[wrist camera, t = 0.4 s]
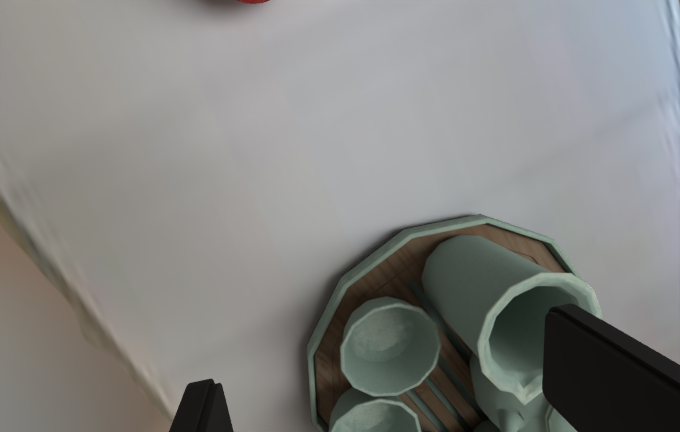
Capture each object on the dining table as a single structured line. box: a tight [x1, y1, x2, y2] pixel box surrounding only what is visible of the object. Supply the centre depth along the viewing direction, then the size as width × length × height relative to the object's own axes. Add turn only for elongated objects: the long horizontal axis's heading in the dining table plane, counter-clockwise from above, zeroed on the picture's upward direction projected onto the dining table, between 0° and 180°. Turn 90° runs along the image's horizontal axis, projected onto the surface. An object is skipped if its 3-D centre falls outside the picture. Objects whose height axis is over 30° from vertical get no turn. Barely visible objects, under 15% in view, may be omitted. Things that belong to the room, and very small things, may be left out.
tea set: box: [307, 214, 602, 432], centre depth 39 cm, size 40×40×16 cm
